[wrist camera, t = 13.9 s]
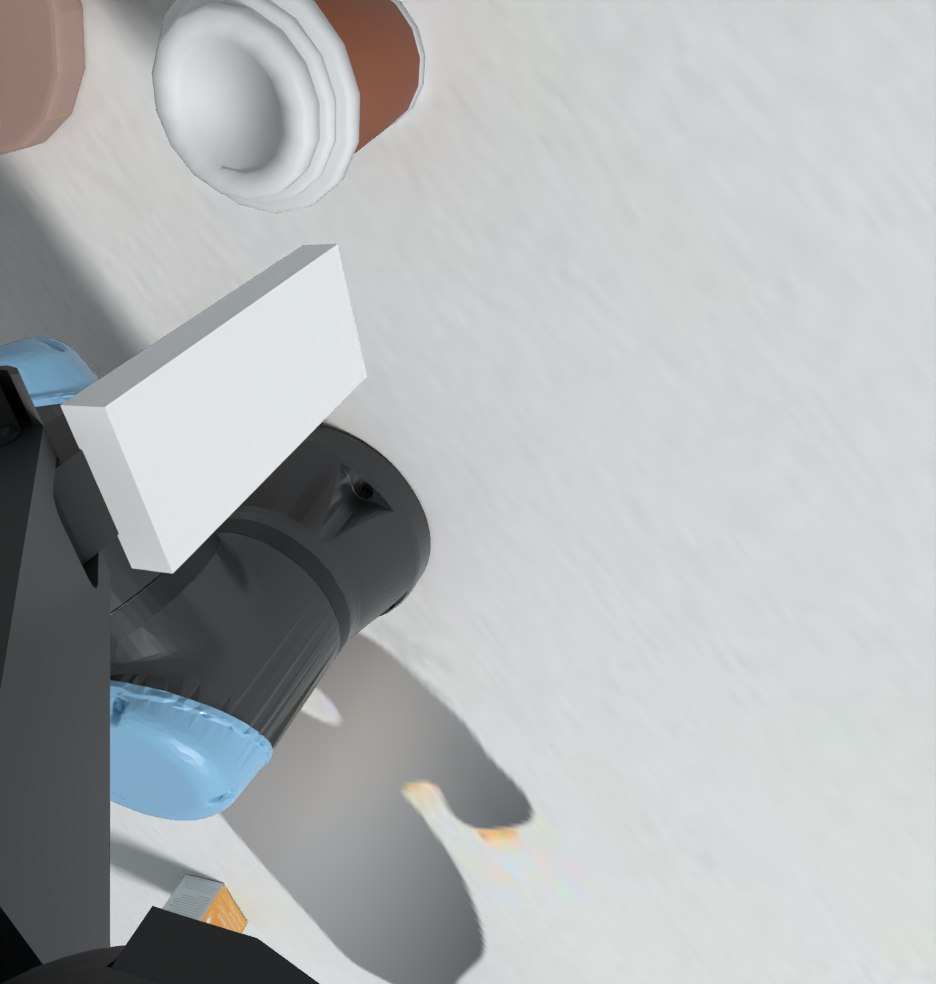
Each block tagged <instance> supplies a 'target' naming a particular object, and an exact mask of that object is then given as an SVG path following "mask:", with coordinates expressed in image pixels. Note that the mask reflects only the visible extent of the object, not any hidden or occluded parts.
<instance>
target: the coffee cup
mask: <svg viewBox="0 0 936 984" xmlns="http://www.w3.org/2000/svg"><path fill="white" fill-rule="evenodd" d="M424 69H425V53H424V49H423V45H422V41H421V38H420V34H419V30H418V27H417V25H416V24H415V22H414V21H413V19H412V18H411V16H410V15H409V13H408V12H407V10H406V9H405V7H404V6H403V4H402V3H401V2H400V1H399V0H175V2H174V3H173V4H172V6H171V7H170V8H169V10H168V11H167V12H166V14H165V15H164V20H163V24H162V29H161V33H160V38H159V42H158V47H157V51H156V56H155V61H154V65H153V70H152V79H153V87H154V96H155V104H156V111H157V113H158V116H159V118H160V120H161V123H162V125H163V128H164V130H165V132H166V135H167V137H168V140H169V142H170V144H171V146H172V147H173V149H174V150H175V151H176V152H177V154H178V155H179V156H180V158H181V159H182V160H183V161H184V163H185V164H186V165H187V167H188V168H189V169H190V170H191V172H192V173H193V174H194V175H195V176H197V177H198V178H200V179H201V180H203V181H204V182H205V183H207V184H208V185H210V186H211V187H212V188H214V189H215V190H217V191H218V192H220V193H221V194H225V195H226V196H228V197H229V198H231V199H232V200H234V201H235V202H236V203H238V204H240V205H244V206H248V207H252V208H256V209H260V210H264V211H268V212H272V213H276V214H277V213H282V212H286V211H291V210H296V209H300V208H305V207H309V206H311V205H313V204H315V203H316V202H318V201H319V200H320V199H321V198H322V197H323V196H325V195H326V194H327V193H328V192H329V191H330V190H331V189H333V188H334V187H335V186H336V185H337V184H338V183H339V182H341V181H342V180H343V179H344V177H345V174H346V172H347V169H348V167H349V164H350V162H351V160H352V157H353V155H354V153H356V152H357V151H358V150H360V149H361V148H362V147H363V146H365V145H366V144H367V143H368V142H370V141H371V140H372V139H374V138H375V137H376V136H377V135H379V134H380V133H381V132H383V131H384V130H385V129H386V128H388V127H389V126H390V125H392V124H394V123H396V122H397V121H398V120H399V119H400V118H401V117H403V116H404V115H405V114H406V113H407V112H408V111H409V110H410V109H412V108H413V106H414V104H415V102H416V100H417V97H418V95H419V93H420V91H421V88H422V86H423V84H424Z"/></svg>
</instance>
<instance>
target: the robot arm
mask: <svg viewBox="0 0 936 984" xmlns="http://www.w3.org/2000/svg"><path fill="white" fill-rule="evenodd" d="M366 377H367V373H366V369H365V364H364V360H363V356H362V351H361V347H360V342H359V338H358V333H357V329H356V324H355V320H354V315H353V311H352V306H351V302H350V298H349V293H348V289H347V284H346V280H345V275H344V271H343V266H342V262H341V257H340V253H339V248H338V244H327V245H303V246H301V247H300V248H298V249H297V250H295V251H294V252H292V253H291V254H289V255H288V256H286V257H284V258H283V259H281V260H280V261H278V262H277V263H275V264H274V265H272V266H271V267H269V268H268V269H266V270H265V271H263V272H262V273H260V274H259V275H257V276H256V277H254V278H253V279H251V280H250V281H248V282H246V283H245V284H243V285H242V286H240V287H239V288H237V289H236V290H234V291H233V292H231V293H230V294H228V295H227V296H225V297H224V298H222V299H221V300H219V301H218V302H216V303H215V304H213V305H212V306H210V307H208V308H207V309H205V310H204V311H202V312H201V313H199V314H198V315H196V316H195V317H193V318H192V319H190V320H189V321H187V322H186V323H184V324H183V325H181V326H180V327H178V328H177V329H175V330H174V331H172V332H170V333H169V334H167V335H166V336H164V337H163V338H161V339H160V340H158V341H157V342H155V343H154V344H152V345H151V346H149V347H148V348H146V349H145V350H143V351H142V352H140V353H139V354H137V355H136V356H134V357H133V358H131V359H129V360H128V361H126V362H125V363H123V364H122V365H120V366H119V367H117V368H116V369H114V370H113V371H111V372H110V373H108V374H107V375H105V376H104V377H102V378H101V379H99V378H98V377H97V376H96V375H95V374H94V372H93V371H92V370H91V369H90V368H89V366H88V365H87V364H86V363H85V362H84V360H83V359H82V358H81V357H80V356H79V354H78V353H77V352H76V351H75V350H74V349H72V348H71V347H70V346H68V345H67V344H65V343H63V342H61V341H58V340H55V339H50V338H41V337H38V338H29V339H24V340H19V341H16V342H12V343H9V344H5V345H2V346H0V984H319V983H318V982H316V981H315V980H314V979H312V978H311V977H310V976H308V975H307V974H305V973H304V972H303V971H301V970H300V969H299V968H297V967H296V966H295V965H293V964H292V963H290V962H289V961H288V960H286V959H285V958H284V957H282V956H281V955H279V954H278V953H277V952H275V951H274V950H273V949H271V948H270V947H269V946H267V945H266V944H264V943H263V942H262V941H260V940H259V939H258V938H255V937H251V936H248V935H245V934H242V933H238V932H235V931H232V930H229V929H225V928H222V927H219V926H216V925H212V924H209V923H206V922H203V921H199V920H196V919H193V918H190V917H186V916H183V915H180V914H177V913H174V912H170V911H167V910H164V909H161V908H157V907H154V906H152V908H151V909H150V911H149V912H148V913H147V915H146V916H145V918H144V919H143V921H142V922H141V924H140V925H139V927H138V928H137V930H136V931H135V932H134V934H133V935H132V937H131V938H130V940H129V941H128V943H127V944H126V946H115V947H110V801H112V802H115V803H117V804H119V805H122V806H124V807H127V808H130V809H132V810H134V811H137V812H140V813H143V814H147V815H150V816H154V817H159V818H164V819H170V820H198V819H204V818H208V817H211V816H213V815H216V814H218V813H220V812H221V811H223V810H224V809H226V808H227V807H229V806H230V805H231V804H232V803H233V802H234V800H236V798H237V797H238V796H239V795H240V794H241V792H242V791H243V790H244V789H245V787H246V786H247V785H248V784H249V782H250V781H251V780H252V779H253V777H254V776H255V775H256V774H257V773H258V771H259V770H260V769H261V768H262V767H263V766H264V765H266V764H267V763H268V762H269V760H270V759H271V757H272V755H273V750H274V748H275V747H276V745H277V744H278V743H279V741H280V740H281V738H282V737H283V735H284V734H285V732H286V731H287V729H288V728H289V726H290V725H291V723H292V722H293V720H294V718H295V717H296V716H297V714H298V713H299V711H300V710H301V708H302V707H303V705H304V704H305V702H306V701H307V699H308V698H309V696H310V695H311V693H312V692H313V690H314V689H315V687H316V686H317V684H318V683H319V681H320V680H321V678H322V677H323V675H324V674H325V672H326V671H327V669H328V668H329V666H330V665H331V663H332V662H333V660H334V659H335V658H336V656H337V655H338V653H339V652H340V650H341V649H342V647H343V646H344V644H345V643H346V641H347V640H348V639H349V638H351V637H352V636H354V635H355V634H356V633H358V632H359V631H360V630H362V629H363V628H364V627H365V626H366V625H368V624H369V623H370V622H372V621H373V620H374V619H376V618H377V617H379V616H382V615H384V614H386V613H388V612H389V611H391V610H393V609H394V608H396V607H397V606H398V605H399V604H401V603H402V602H403V601H404V600H405V599H406V598H407V596H408V595H409V594H410V592H411V591H412V589H413V588H414V586H415V585H416V583H417V582H418V580H419V579H420V577H421V575H422V574H423V572H424V570H425V568H426V566H427V563H428V559H429V555H430V532H429V527H428V523H427V519H426V516H425V513H424V511H423V509H422V506H421V504H420V502H419V500H418V498H417V497H416V495H415V493H414V492H413V490H412V489H411V487H410V486H409V484H408V483H407V482H406V480H405V479H404V478H403V477H402V475H401V474H400V473H399V472H398V471H397V470H396V469H395V468H394V467H393V466H392V465H391V464H390V463H389V462H388V461H387V460H386V459H385V458H383V457H382V456H381V455H380V454H379V453H377V452H376V451H374V450H373V449H372V448H370V447H369V446H367V445H366V444H364V443H362V442H360V441H359V440H357V439H355V438H353V437H351V436H349V435H347V434H344V433H342V432H339V431H336V430H333V429H330V428H326V427H322V426H319V425H320V424H321V423H322V422H323V420H324V419H325V418H326V417H327V416H328V415H329V414H330V413H331V412H332V411H333V410H334V409H335V408H336V407H337V406H338V405H339V404H340V403H341V402H342V401H343V400H344V399H345V398H346V397H347V396H348V395H349V394H350V393H351V392H352V391H353V390H354V389H355V388H356V387H357V386H358V385H359V384H360V383H361V382H362V381H363V380H364V379H365V378H366Z"/></svg>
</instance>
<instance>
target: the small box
mask: <svg viewBox="0 0 936 984" xmlns="http://www.w3.org/2000/svg"><path fill="white" fill-rule="evenodd" d="M162 909H164V910H167V911H170V912H174V913H177V914H180V915H183V916H186V917H190V918H193V919H196V920H199V921H203V922H206V923H209V924H212V925H216V926H219V927H222V928H225V929H229V930H232V931H235V932H238V933H242V932H243V930H244V928H245V927H246V925H247V921H246V920H245V918H244V917H243V915H242V914H241V912H240V910H239V909H238V907H237V905H236V904H235V902H234V900H233V899H232V897H231V895H230V894H229V892H228V890H227V888H226V886H225V884H224V883H220V882H216V881H212V880H207V879H203V878H200V877H196V876H191V875H185V876H184V878H183V879H182V880H181V882H180V883H179V885H178V886H177V888H176V889H175V891H174V892H173V894H172V895H171V897H170V898H169V899H168V901H167V902H166V904H165V905H164V907H163V908H162Z"/></svg>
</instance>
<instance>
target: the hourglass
mask: <svg viewBox="0 0 936 984" xmlns="http://www.w3.org/2000/svg"><path fill="white" fill-rule="evenodd" d="M84 70H85V58H84V32H83V8H82V5H81V1H80V0H0V155H1V154H5V153H9V152H12V151H16V150H20V149H24V148H28V147H31V146H34V145H37V144H40V143H43V142H45V141H46V140H47V139H48V138H49V137H50V136H51V135H52V134H53V133H54V132H55V131H56V130H57V129H58V127H59V126H60V125H61V124H62V123H63V122H64V121H65V120H66V119H67V118H68V117H69V116H70V115H71V113H72V111H73V107H74V104H75V100H76V97H77V94H78V90H79V87H80V83H81V80H82V76H83V73H84Z"/></svg>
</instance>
